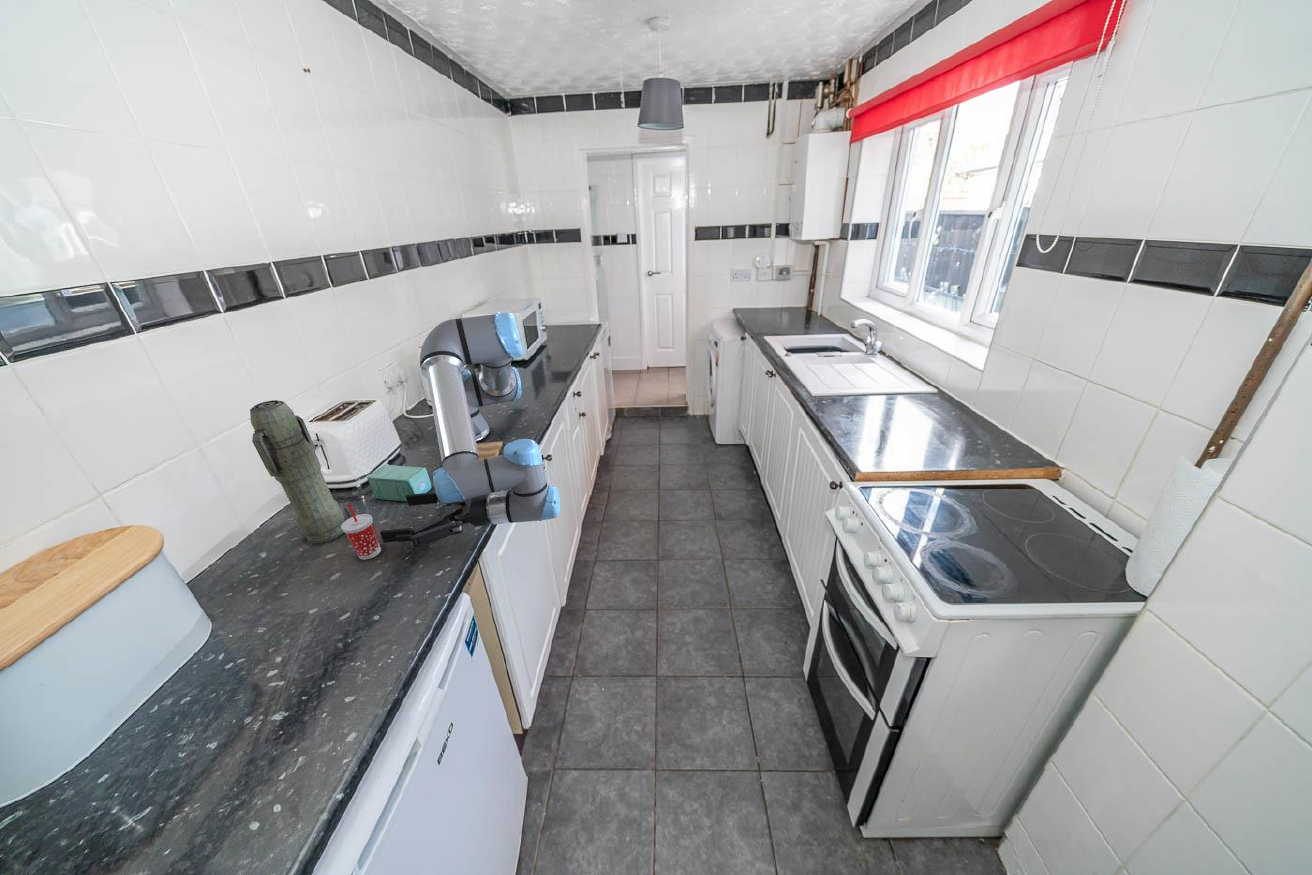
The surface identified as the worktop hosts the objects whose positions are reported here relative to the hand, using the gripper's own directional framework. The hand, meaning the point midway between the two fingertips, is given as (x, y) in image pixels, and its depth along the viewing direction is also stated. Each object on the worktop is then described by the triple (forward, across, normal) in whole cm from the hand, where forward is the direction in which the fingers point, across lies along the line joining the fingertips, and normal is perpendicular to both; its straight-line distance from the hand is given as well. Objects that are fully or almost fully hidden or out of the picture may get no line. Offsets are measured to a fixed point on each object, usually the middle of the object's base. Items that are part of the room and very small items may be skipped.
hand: (395, 517), depth 102 cm
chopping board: (-5, +42, -9) cm, 43 cm away
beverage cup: (+9, 0, -10) cm, 13 cm away
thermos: (+24, +10, -9) cm, 27 cm away
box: (+11, +25, -9) cm, 29 cm away
